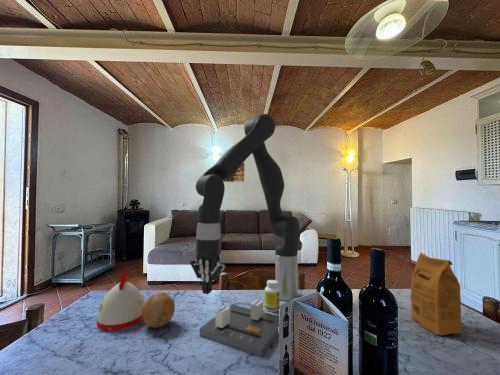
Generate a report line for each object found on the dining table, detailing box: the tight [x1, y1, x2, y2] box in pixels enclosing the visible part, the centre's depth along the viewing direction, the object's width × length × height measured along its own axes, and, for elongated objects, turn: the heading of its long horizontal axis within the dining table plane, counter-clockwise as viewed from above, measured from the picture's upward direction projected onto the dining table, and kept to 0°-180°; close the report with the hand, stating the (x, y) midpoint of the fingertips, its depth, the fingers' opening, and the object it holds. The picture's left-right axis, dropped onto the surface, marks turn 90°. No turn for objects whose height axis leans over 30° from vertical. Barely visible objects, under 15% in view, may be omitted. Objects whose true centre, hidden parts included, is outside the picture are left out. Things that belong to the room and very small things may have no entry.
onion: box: [142, 291, 176, 329], centre depth 73 cm, size 10×10×10 cm
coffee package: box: [410, 252, 463, 336], centre depth 74 cm, size 10×12×22 cm
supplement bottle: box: [264, 279, 280, 313], centre depth 85 cm, size 5×5×10 cm
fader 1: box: [214, 305, 230, 328], centre depth 69 cm, size 4×2×4 cm, turn 152°
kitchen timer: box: [96, 270, 145, 331], centre depth 77 cm, size 14×14×15 cm
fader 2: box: [250, 299, 264, 320], centre depth 74 cm, size 4×2×4 cm, turn 152°
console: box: [199, 304, 280, 358], centre depth 71 cm, size 18×20×2 cm
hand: (206, 293), depth 72 cm, fingers closed
